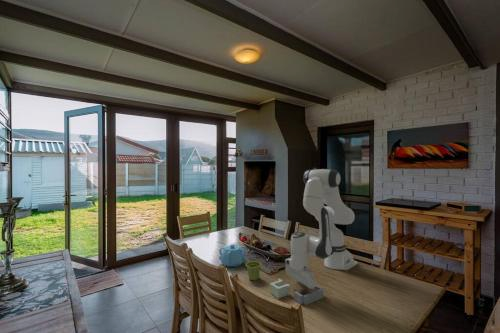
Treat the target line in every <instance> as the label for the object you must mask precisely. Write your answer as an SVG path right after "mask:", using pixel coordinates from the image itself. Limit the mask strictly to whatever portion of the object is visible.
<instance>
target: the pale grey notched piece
mask: <svg viewBox="0 0 500 333" xmlns="http://www.w3.org/2000/svg"><path fill="white" fill-rule="evenodd" d="M269 291H270V292H269V293H270V294H271V295H272V296H274V297H275V298H277V299H281V298H284V297H287V296H291V285H290V284H288V283H286V284H284V281H283V279H281V278H278V279H277V280H276V281H274V282H273V281H272V282H270V283H269Z"/></svg>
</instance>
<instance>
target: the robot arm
mask: <svg viewBox="0 0 500 333" xmlns="http://www.w3.org/2000/svg"><path fill="white" fill-rule="evenodd" d="M302 181H303V183H304V185H305V187H304V192H303V198H302V199H303V200H302V205H303V207H304V210H306V212H307V213H308V214H310V215H312V216H314V217H315V220H316V221H317V222H318V224H319V225H318V226H319V227H318V228H319V237H317V236H313V235H309V234H306V233H305V232H304V231H296V232H294V233H292V234H291V237H290V252H291V256H290V257H289V258H286V259H284V260H285V262H284V263H285V275H287V277H290V278H291V279H293V280H294V281H295V283H296V284H297V283H299V282H300V283H301V284H303V285H304V286H306V287H308V288H309V289H311V290H312V289H314V287H315V286H316V284H317V283H316V277H315V274H314V272H313V270H312V268H309V259H308V255H311V256H314V257H317V258H320V259H321V260H323V261H324V263H323V264H324V266H325V267H327V268H329V269H332V270H343V271H348V270H350V269H352V268H353V267H355V266H356V265H358V262H357V261H356V260H355V259H354V255H353V254H352V253H351V252H350V251H348V250H347V248H349V245H348V244H347V243H344V233H343V231H342V230H341V229H339V228H337V227H336V225H352V223H353V222H355V218H356V217H355V213H354V211H353V210H352V208H349V206H347V205H346V204H345V203H344V202H343V200H342V198H341V196H340V190H339V185H340V184H341V174H340V172H339V171H338V170H336V169H326V168H321V169H320V168H319V169H318V168H317V169H312V168H311V169H307V170H305V171H304V173H303V180H302ZM325 205H326V206H325Z"/></svg>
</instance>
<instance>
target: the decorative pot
mask: <svg viewBox="0 0 500 333" xmlns="http://www.w3.org/2000/svg"><path fill="white" fill-rule="evenodd" d="M222 250H223V252H222ZM246 253H247V251H246V249H245V248H242V247H241V246H240V245H237V244H234V243H232V244H229V245H226V246H225V247H220V249H219V254H220V256H219V257H218V259H219V260H220V262H221V264H222V265H223V264H224V266H225V265H226V266H227V267H234V268H238V267H240V266H241V265H242V264H243V262H247V257H246ZM226 266H225V267H226Z"/></svg>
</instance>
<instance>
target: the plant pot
mask: <svg viewBox="0 0 500 333" xmlns="http://www.w3.org/2000/svg"><path fill="white" fill-rule="evenodd" d="M245 266H246V268H247V274H248V278H249V280H250V281H258V280H259V279H260V272H261V266H262V262H260V261H256V260H252V261H248V262H247V263H245Z"/></svg>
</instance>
